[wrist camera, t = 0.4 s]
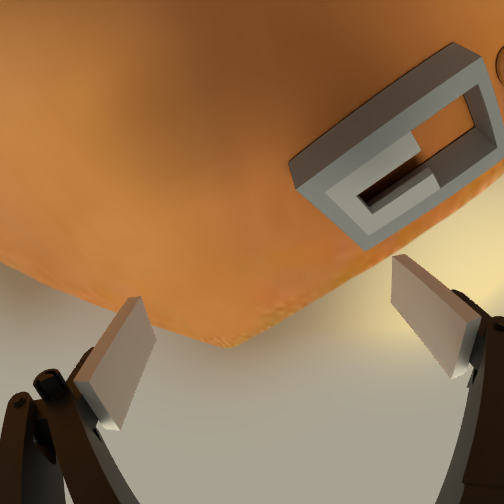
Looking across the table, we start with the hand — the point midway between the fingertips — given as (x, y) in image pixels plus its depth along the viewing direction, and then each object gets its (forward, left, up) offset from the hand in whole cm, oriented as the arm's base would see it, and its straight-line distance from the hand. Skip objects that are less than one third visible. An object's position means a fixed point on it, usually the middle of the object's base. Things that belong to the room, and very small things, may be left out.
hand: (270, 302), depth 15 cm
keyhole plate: (+1, +14, -15) cm, 21 cm away
